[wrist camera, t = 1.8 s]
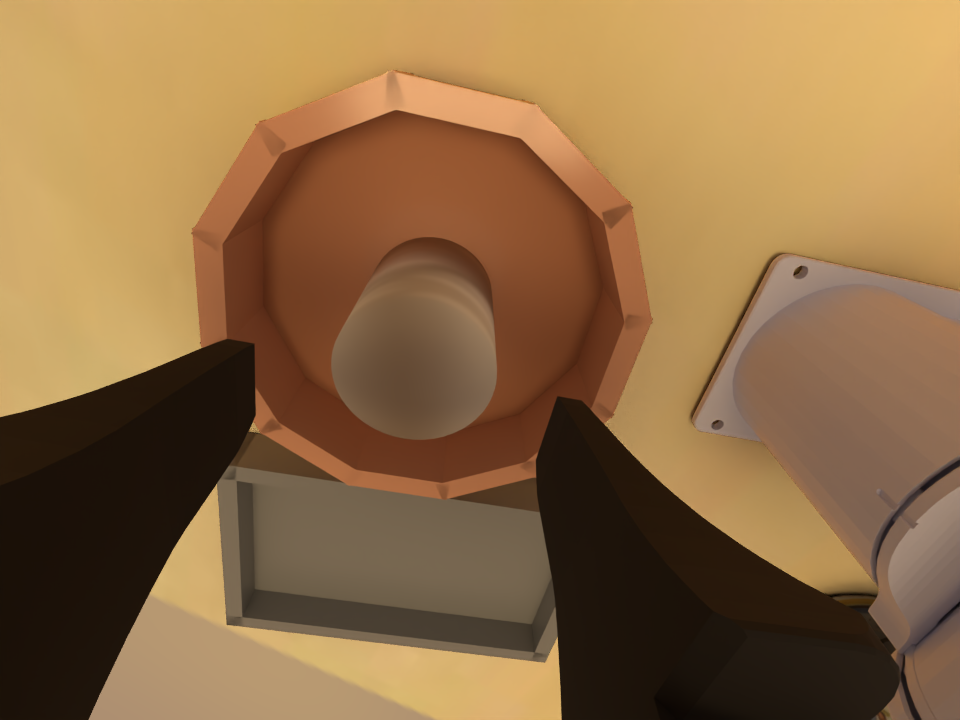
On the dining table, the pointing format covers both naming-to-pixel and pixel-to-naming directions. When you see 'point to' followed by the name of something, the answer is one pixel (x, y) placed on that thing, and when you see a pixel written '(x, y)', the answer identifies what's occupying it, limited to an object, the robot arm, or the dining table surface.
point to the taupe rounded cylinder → (419, 342)
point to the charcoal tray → (383, 559)
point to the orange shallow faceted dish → (408, 215)
